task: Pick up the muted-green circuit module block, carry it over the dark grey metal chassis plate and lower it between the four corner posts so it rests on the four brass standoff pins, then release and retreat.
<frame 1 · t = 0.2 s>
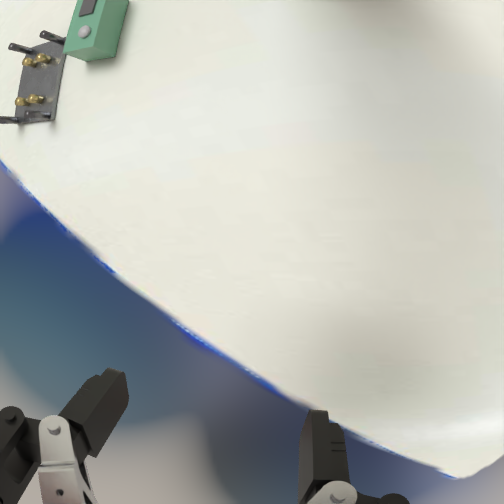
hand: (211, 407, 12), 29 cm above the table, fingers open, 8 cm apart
chassis: (40, 81, 36), on the table
module block: (107, 30, 33), on the table
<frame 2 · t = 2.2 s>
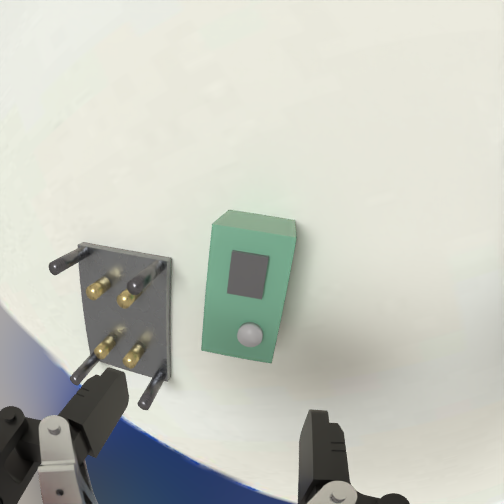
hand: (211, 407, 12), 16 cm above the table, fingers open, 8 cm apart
chassis: (125, 313, 30), on the table
module block: (253, 270, 27), on the table
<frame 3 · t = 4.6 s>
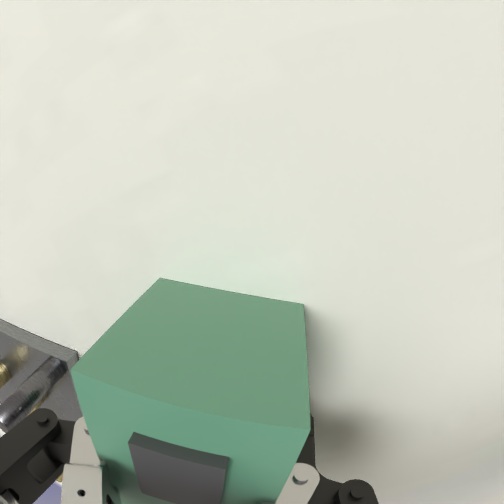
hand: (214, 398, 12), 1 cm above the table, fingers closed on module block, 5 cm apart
chassis: (43, 408, 16), on the table
module block: (218, 389, 13), on the table, touching gripper
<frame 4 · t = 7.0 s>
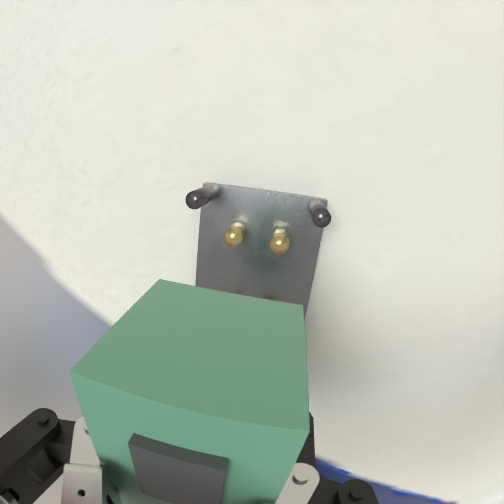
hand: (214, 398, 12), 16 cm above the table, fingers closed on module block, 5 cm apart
chassis: (255, 269, 27), on the table
module block: (217, 390, 13), point 15 cm above the table, touching gripper
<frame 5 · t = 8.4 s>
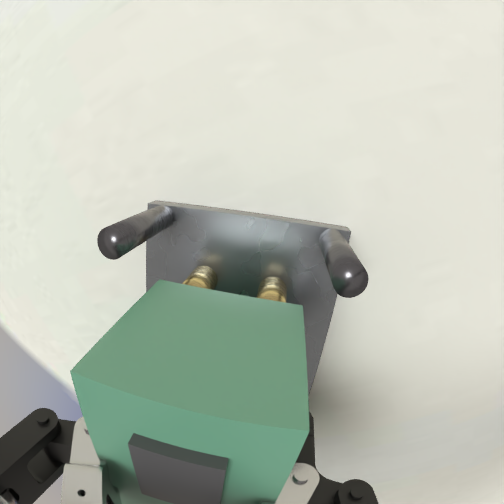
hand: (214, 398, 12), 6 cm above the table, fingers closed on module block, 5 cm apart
chassis: (234, 332, 18), on the table
module block: (217, 390, 13), point 5 cm above the table, touching gripper
when the fingers open (5 cm above the table, at t = 9.4 s): module block stays where it is, resting on chassis.
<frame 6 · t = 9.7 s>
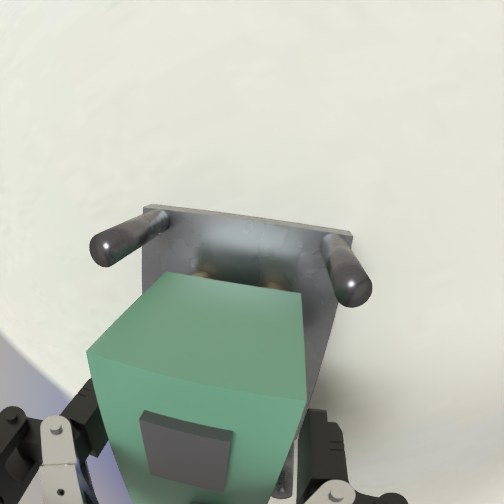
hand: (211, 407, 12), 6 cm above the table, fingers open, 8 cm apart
chassis: (233, 339, 17), on the table
module block: (221, 378, 14), point 3 cm above the table, touching chassis
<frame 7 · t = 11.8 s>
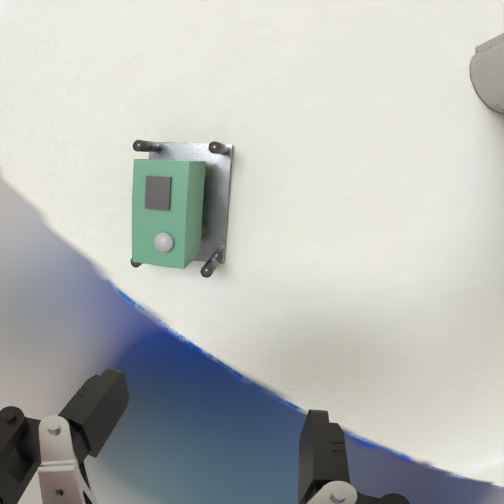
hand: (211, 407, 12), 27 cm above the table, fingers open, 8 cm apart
chassis: (187, 201, 37), on the table
module block: (178, 205, 33), point 3 cm above the table, touching chassis
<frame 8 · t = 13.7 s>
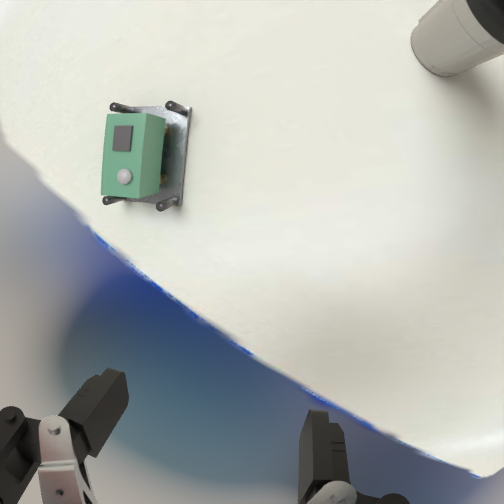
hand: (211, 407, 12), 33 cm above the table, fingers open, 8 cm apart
chassis: (153, 154, 42), on the table
module block: (143, 154, 39), point 3 cm above the table, touching chassis
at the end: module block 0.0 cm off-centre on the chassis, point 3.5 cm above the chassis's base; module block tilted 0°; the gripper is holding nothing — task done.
